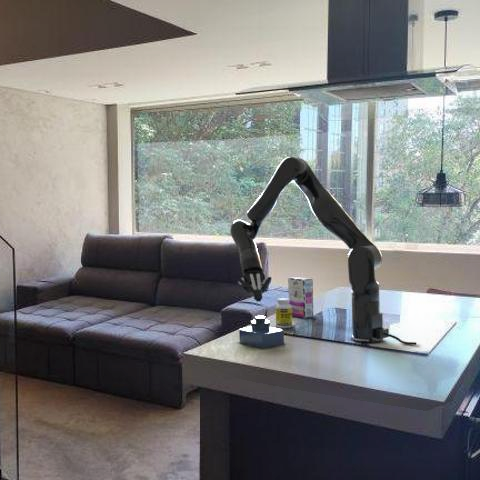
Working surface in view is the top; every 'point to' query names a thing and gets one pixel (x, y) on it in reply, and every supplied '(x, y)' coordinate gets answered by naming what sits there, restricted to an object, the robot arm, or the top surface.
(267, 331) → the blue square base
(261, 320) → the button
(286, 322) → the pill bottle
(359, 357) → the top surface
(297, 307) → the candy bar box
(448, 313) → the top surface
